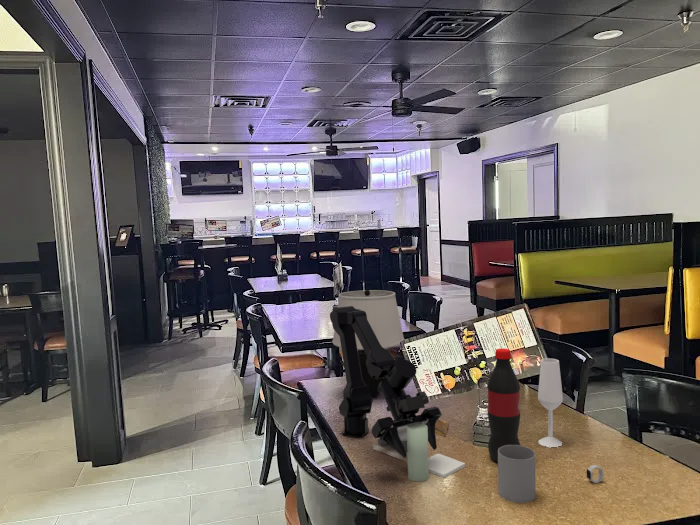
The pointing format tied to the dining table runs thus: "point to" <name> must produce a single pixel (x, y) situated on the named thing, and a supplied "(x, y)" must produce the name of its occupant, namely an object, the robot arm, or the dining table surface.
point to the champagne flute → (550, 396)
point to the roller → (417, 452)
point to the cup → (516, 473)
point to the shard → (441, 427)
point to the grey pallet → (388, 449)
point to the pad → (443, 465)
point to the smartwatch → (590, 473)
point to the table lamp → (374, 325)
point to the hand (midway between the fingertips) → (420, 453)
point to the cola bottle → (503, 404)
